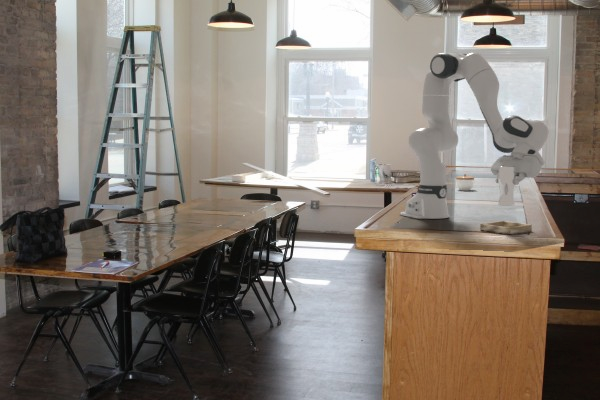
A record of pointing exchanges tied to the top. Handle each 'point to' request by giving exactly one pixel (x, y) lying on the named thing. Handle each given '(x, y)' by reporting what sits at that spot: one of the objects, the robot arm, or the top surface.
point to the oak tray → (506, 227)
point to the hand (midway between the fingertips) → (506, 182)
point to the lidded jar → (464, 182)
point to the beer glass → (506, 184)
